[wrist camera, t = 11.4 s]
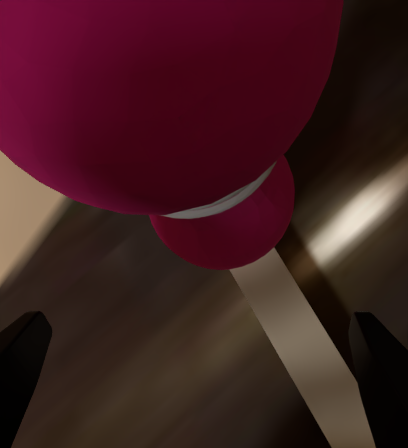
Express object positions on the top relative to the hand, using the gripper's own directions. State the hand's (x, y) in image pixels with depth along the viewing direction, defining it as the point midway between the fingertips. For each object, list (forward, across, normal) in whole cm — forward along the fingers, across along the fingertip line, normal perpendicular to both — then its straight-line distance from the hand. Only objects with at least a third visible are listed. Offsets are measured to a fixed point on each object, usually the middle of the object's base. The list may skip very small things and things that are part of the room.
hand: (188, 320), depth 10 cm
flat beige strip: (+9, -3, +9) cm, 13 cm away
